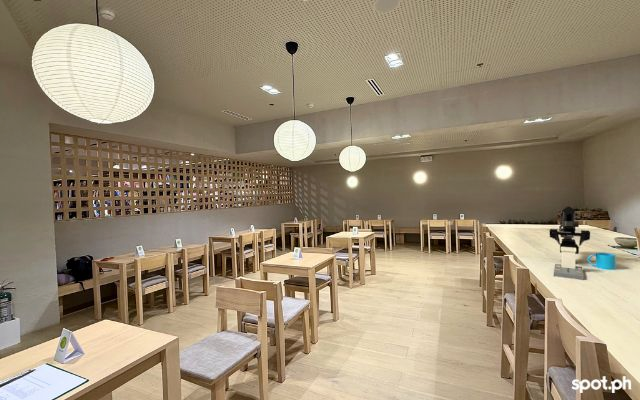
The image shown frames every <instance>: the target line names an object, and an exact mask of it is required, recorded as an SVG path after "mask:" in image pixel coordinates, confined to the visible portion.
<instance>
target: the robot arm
mask: <svg viewBox="0 0 640 400" xmlns="http://www.w3.org/2000/svg"><path fill="white" fill-rule="evenodd" d="M578 215H579V213H578V212H577V211H576V209H575V208H572V206H566V207H565V208H563V209H562V210H561V211H560V218H561V219H562V221H561V222H562V223H561V224H560V225H559V227H558V228H559V229H558V228H550V229H549V238H551V239H552V240H555V241H556V242H557V244H558V245H559V252H560V253H561V254H562V251H561V247H571V248H576V252H575V255H578V254H579V252H580V250H579V249H580V247H581V245H583V243H584V242H586V241H590V240H591V231H590V230H582V229H581V231H580V232H576V228H579V227H580V226H579V224H580V223H579V221H577V220H576V218H577V217H578ZM575 237H578V238H579V243H578V244H577V243H576V239H575ZM560 238H562V239H561V241H560ZM560 262H562V259H560ZM576 264H577V262H576V261H575V265H576Z"/></svg>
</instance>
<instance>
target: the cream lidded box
mask: <svg viewBox="0 0 640 400" xmlns="http://www.w3.org/2000/svg"><path fill="white" fill-rule="evenodd" d="M561 251H562V253H561V260H562V261H561V265H562V267H564V268H573V269H575V266H576V264H575V262H576V254H575V252H576V248H571V247H561Z"/></svg>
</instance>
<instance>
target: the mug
mask: <svg viewBox="0 0 640 400" xmlns="http://www.w3.org/2000/svg"><path fill="white" fill-rule="evenodd" d="M592 257H595V264H594V263H592V262H591V261H590V259H591V258H592ZM587 262H588V263H589V264H590V265H591V266H594V267H595V268H597V269H601V270H607V271H615V270H616V255H615V254H614V253H609V252H596V253H595V254H591V255H589V256H588V257H587Z"/></svg>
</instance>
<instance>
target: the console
mask: <svg viewBox="0 0 640 400" xmlns="http://www.w3.org/2000/svg"><path fill="white" fill-rule="evenodd" d="M583 271H584V270H583V267H582V266H576V265H575V269H573V268H564V267H562V263H555V264H554V268H553V277H558V278H565V279H567V278H568V279H573V280H581V281H583V280H584V272H583Z"/></svg>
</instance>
